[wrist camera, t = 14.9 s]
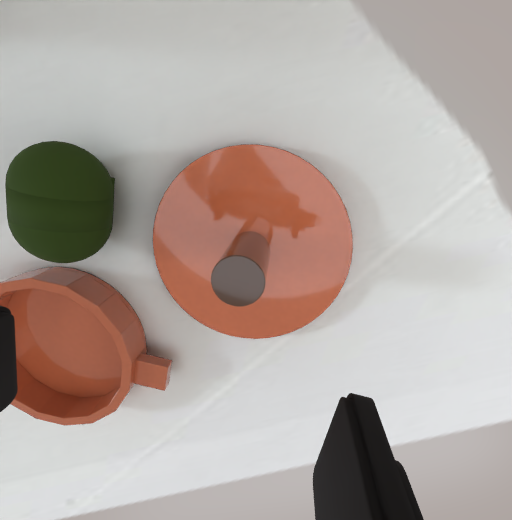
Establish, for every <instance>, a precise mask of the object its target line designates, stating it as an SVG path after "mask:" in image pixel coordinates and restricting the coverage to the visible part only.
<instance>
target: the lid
mask: <svg viewBox="0 0 512 520" xmlns="http://www.w3.org/2000/svg"><path fill="white" fill-rule="evenodd" d="M153 248H154V256H155V260H156V265H157V268H158V271H159V273H160V276H161V278H162V280H163V282H164V284H165V286H166V288H167V290H168V291H169V293H170V294H171V296H172V297H173V298H174V300H175V301H176V302H177V303H178V304H179V305H180V306H181V308H183V309H184V310H185V311H186V312H187V313H188V314H189V315H190V316H192V317H193V318H194V319H196V320H197V321H199V322H200V323H202V324H204V325H205V326H207V327H209V328H211V329H213V330H216V331H218V332H221V333H224V334H227V335H231V336H235V337H241V338H253V339H258V338H270V337H276V336H280V335H284V334H287V333H290V332H293V331H295V330H297V329H300V328H302V327H303V326H305V325H307V324H308V323H310V322H312V321H313V320H314V319H316V318H317V317H318V316H319V315H321V314H322V313H323V312H324V311H325V310H326V309H327V308H328V307H329V306H330V305H331V303H332V302H333V301H334V299H335V298H336V297H337V295H338V293H339V292H340V290H341V288H342V286H343V285H344V282H345V280H346V277H347V275H348V272H349V268H350V264H351V258H352V249H353V244H352V231H351V225H350V220H349V217H348V214H347V211H346V208H345V206H344V204H343V202H342V200H341V198H340V196H339V194H338V193H337V191H336V190H335V188H334V187H333V185H332V184H331V183H330V182H329V181H328V179H327V178H326V177H325V176H324V175H323V174H322V173H321V172H320V171H319V170H317V169H316V168H315V167H314V166H313V165H311V164H310V163H308V162H307V161H305V160H304V159H302V158H300V157H299V156H296V155H294V154H292V153H290V152H288V151H285V150H282V149H278V148H275V147H271V146H264V145H236V146H229V147H225V148H222V149H218V150H215V151H213V152H211V153H208V154H206V155H204V156H202V157H200V158H199V159H197V160H196V161H194V162H192V163H191V164H190V165H188V166H187V167H186V168H185V169H184V170H183V171H181V172H180V174H179V175H178V176H177V177H176V178H175V179H174V180H173V181H172V183H171V184H170V186H169V187H168V189H167V190H166V192H165V193H164V196H163V198H162V200H161V202H160V204H159V207H158V210H157V213H156V216H155V222H154V228H153Z"/></svg>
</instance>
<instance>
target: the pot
mask: <svg viewBox="0 0 512 520" xmlns="http://www.w3.org/2000/svg"><path fill="white" fill-rule="evenodd" d="M0 306H3V307H6V308H9V310H10V311H11V314H12V315H13V316H14V320H15V342H16V364H17V386H18V391H17V394H16V397H15V398H14V400H13V401H12V402H11V403H10V404H11V405H13V406H15V407H17V408H18V409H20V410H22V411H24V412H25V413H27V414H29V415H31V416H33V417H34V418H36V419H40V420H44V421H48V422H53V423H57V424H61V425H76V424H89V423H94V422H96V421H97V420H99V419H101V418H103V417H105V416H107V415H109V414H111V413H113V412H115V411H116V410H117V408H118V407H119V405H120V404H121V403H122V401H123V400H124V398H125V397H126V395H127V394H128V392H129V391H130V389H131V388H132V386H133V385H134V383H135V384H139V385H143V386H147V387H151V388H156V389H160V390H164V391H165V389H166V387H167V385H168V384H169V378H170V371H171V364H172V360H169V359H164V358H160V357H156V356H152V355H147V354H146V351H147V346H146V338H145V334H144V330H143V327H142V325H141V322H140V320H139V318H138V316H137V315H136V313H135V311H134V310H133V308H132V307H131V306H130V304H129V303H128V302H127V301H126V299H125V298H124V297H123V296H122V295H121V294H120V293H119V292H117V291H116V290H115V289H114V288H113V287H111V286H110V285H109V284H107V283H106V282H104V281H103V280H101V279H99V278H97V277H95V276H93V275H91V274H88V273H86V272H83V271H80V270H76V269H72V268H66V267H47V268H41V269H37V270H34V271H29V272H25V273H22V274H20V275H18V276H15V277H13V278H11V279H8V280H6V281H4V282H1V283H0Z"/></svg>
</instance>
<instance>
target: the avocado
mask: <svg viewBox="0 0 512 520" xmlns="http://www.w3.org/2000/svg"><path fill="white" fill-rule="evenodd" d="M114 184H115V178H111V177H110V175H109V173H108V171H107V170H106V168H105V167H104V166H103V164H102V163H101V162H100V161H99V160H98V159H97V158H96V157H95V156H94V155H92V154H91V153H89V152H88V151H86V150H85V149H83V148H80V147H78V146H76V145H73V144H69V143H65V142H57V141H50V142H41V143H38V144H34V145H31V146H30V147H28V148H26V149H24V150H22V151H21V152H20V153H19V154H18V155H17V156H16V157H15V158H14V159H13V161H12V162H11V164H10V166H9V169H8V172H7V174H6V203H7V219H8V224H9V228H10V230H11V232H12V234H13V236H14V238H15V239H16V240H17V242H18V243H19V244H20V246H22V247H23V248H24V249H25V250H26V251H28V252H29V253H31V254H32V255H34V256H36V257H38V258H40V259H43V260H47V261H51V262H56V263H71V262H76V261H80V260H84V259H86V258H88V257H90V256H92V255H93V254H95V253H96V252H98V251H99V250H100V249H101V248H102V247H103V246H104V244H105V243H106V241H107V240H108V238H109V236H110V233H111V230H112V222H113V204H114Z"/></svg>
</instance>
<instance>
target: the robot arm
mask: <svg viewBox="0 0 512 520" xmlns="http://www.w3.org/2000/svg"><path fill="white" fill-rule="evenodd" d="M17 391H18V386H17V364H16V342H15V320H14V316H13V315H12V314H11V311H10V310H9V308H6V307H3V306H0V412H1V411H2V410H4V409H5V408H6V407H7V406H8V405H9V404H10V403H11V402H12V401H13V400H14V398H15V397H16V394H17ZM313 490H314V505H315V519H316V520H423V517H422V514H421V511H420V509H419V506H418V504H417V501H416V498H415V496H414V493H413V490H412V488H411V485H410V482H409V480H408V477H407V475H406V472H405V470H404V468H403V466H402V465H401V464H400V463H399V462H398V461H396V460H395V459H394V457H393V454H392V451H391V448H390V445H389V443H388V440H387V437H386V434H385V431H384V429H383V426H382V423H381V420H380V417H379V415H378V412H377V409H376V406H375V403H374V401H373V399H371V398H368V397H364V396H360V395H356V394H352V393H350V394H349V395H348V396H347V398H345V397H341V398H340V400H339V403H338V406H337V408H336V411H335V414H334V416H333V419H332V422H331V425H330V427H329V430H328V433H327V435H326V438H325V441H324V443H323V446H322V449H321V451H320V454H319V457H318V460H317V462H316V465H315V468H314V473H313Z"/></svg>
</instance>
